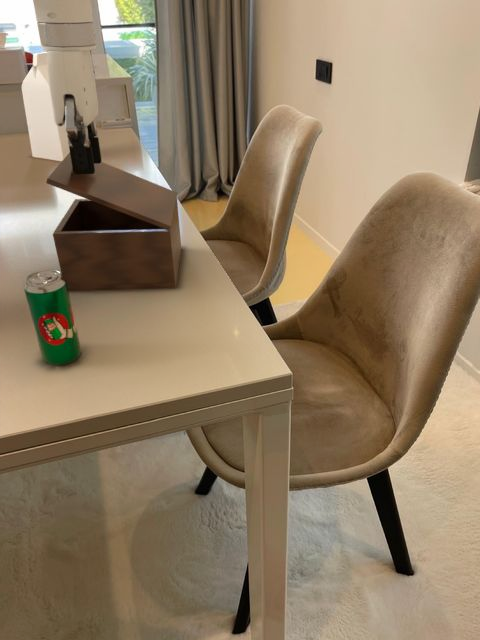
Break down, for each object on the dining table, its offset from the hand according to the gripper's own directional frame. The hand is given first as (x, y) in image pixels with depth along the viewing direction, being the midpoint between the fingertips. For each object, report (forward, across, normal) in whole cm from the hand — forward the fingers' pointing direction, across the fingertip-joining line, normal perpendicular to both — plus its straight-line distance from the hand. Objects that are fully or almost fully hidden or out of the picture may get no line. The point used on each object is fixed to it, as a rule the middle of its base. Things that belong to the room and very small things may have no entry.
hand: (87, 166), depth 88 cm
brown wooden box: (+18, 0, +4) cm, 18 cm away
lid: (+4, 0, +4) cm, 6 cm away
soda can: (+18, +27, -1) cm, 32 cm away
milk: (+18, -77, -24) cm, 83 cm away
